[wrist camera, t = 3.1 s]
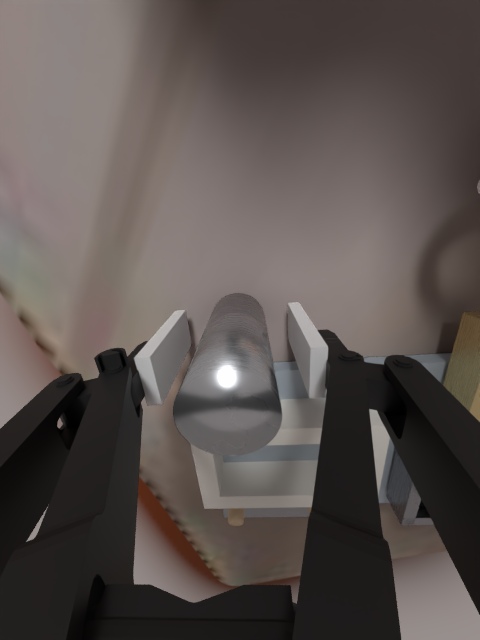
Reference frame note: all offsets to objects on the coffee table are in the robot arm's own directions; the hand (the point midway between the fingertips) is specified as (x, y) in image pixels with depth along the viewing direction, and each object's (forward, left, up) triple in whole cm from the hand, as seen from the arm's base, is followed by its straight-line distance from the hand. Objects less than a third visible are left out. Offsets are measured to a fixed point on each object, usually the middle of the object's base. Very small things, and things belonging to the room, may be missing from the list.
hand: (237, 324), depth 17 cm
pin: (0, 0, -1) cm, 1 cm away
